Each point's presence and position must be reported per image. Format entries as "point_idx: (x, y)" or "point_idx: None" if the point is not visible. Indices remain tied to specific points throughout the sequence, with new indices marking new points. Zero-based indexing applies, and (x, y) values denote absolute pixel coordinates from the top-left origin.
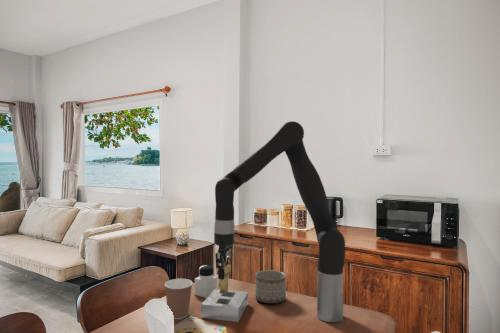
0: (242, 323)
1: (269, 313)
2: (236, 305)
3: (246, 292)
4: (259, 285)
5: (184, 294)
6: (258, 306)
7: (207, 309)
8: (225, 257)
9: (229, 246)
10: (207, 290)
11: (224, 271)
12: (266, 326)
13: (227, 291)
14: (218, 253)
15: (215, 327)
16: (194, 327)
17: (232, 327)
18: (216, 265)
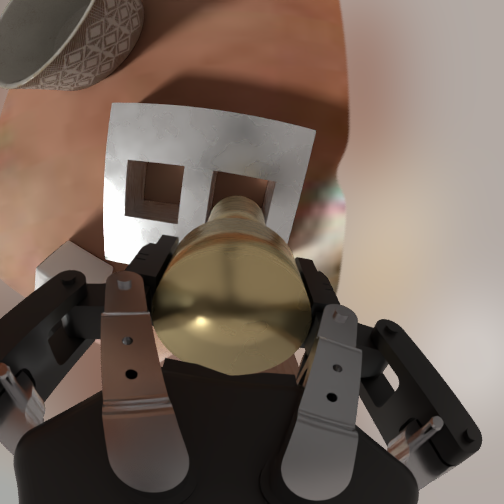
0: (312, 114)
1: (219, 19)
2: (285, 139)
3: (119, 109)
4: (88, 50)
5: (294, 365)
6: (153, 62)
7: None
8: (352, 401)
9: (28, 459)
10: (101, 280)
11: (308, 287)
12: (330, 37)
13: (246, 199)
14: (448, 470)
15: (340, 208)
16: (334, 270)
17: (342, 151)
18: (384, 384)
